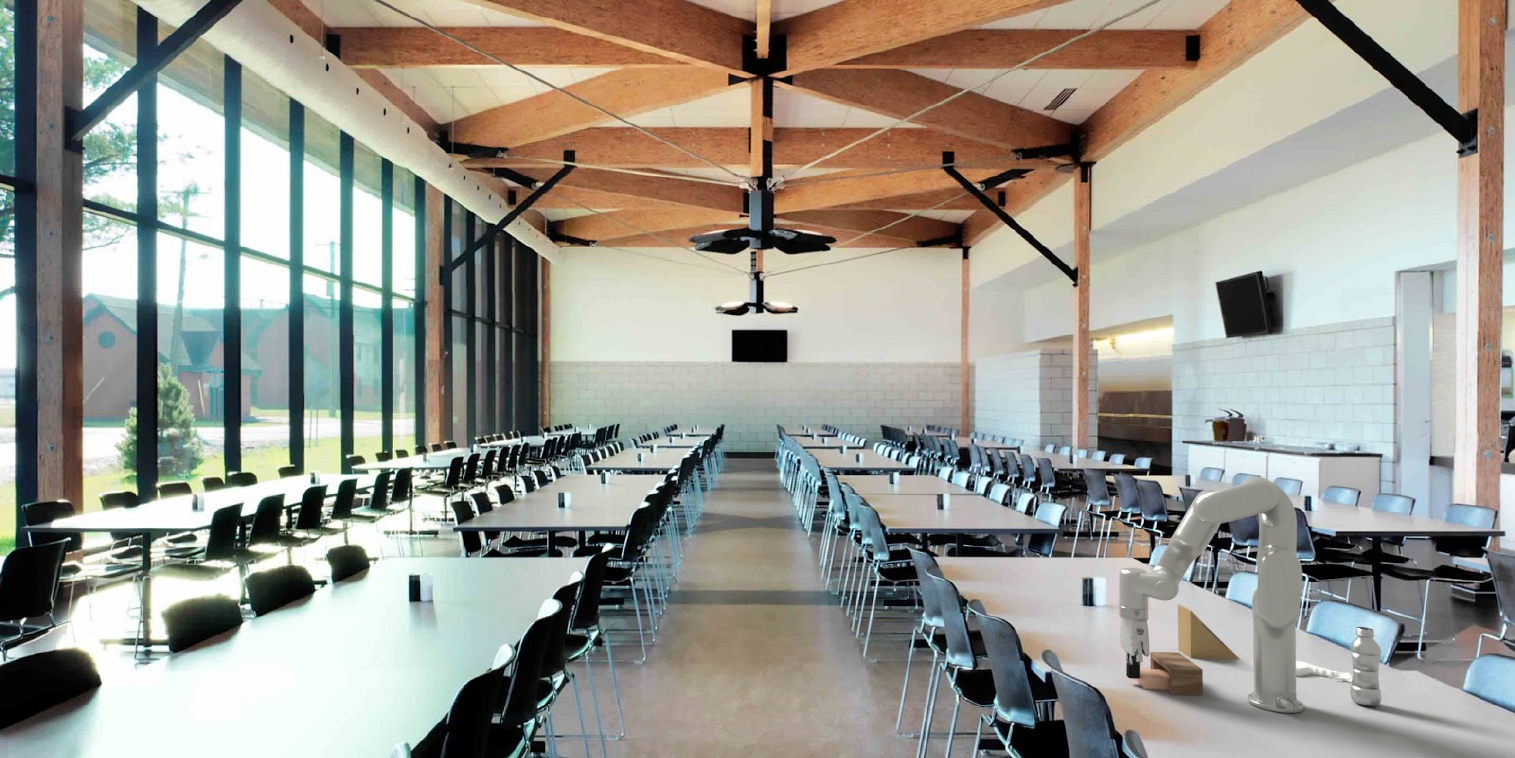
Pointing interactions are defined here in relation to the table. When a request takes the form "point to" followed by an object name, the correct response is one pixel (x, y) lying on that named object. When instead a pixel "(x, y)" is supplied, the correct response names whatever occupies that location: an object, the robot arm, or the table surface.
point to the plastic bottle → (1365, 668)
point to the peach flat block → (1154, 678)
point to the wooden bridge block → (1179, 673)
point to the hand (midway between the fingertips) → (1133, 677)
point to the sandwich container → (1199, 638)
